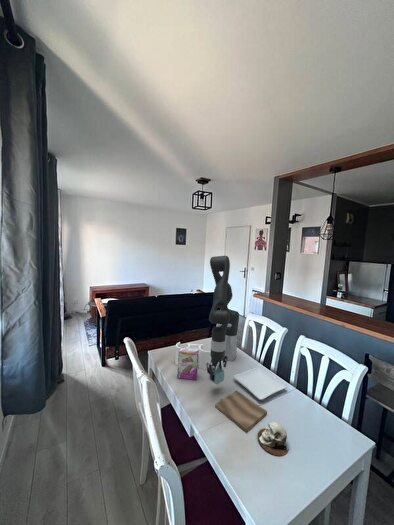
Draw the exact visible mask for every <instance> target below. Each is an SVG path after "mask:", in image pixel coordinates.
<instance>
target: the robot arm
mask: <svg viewBox="0 0 394 525" xmlns="http://www.w3.org/2000/svg"><path fill="white" fill-rule="evenodd" d="M209 265H210V269H211V273H212V275H213V279H214V282H215V287H214V290H213V300H212V302H213V303H212V307H211V310H210V312H209V316H208V320H209V322H210V323H211V324H212V325H213V324H214V325H219V326H215V327H213V328H212V331H211V341H210V351H211V353H210V355H211V358H212V359H211V362H210V363H207V364H206V365H207V371H206V372H207V374H208V375H209V374H210V379H211V380H212V381H214V379H215V371H216V370H217V367H219V368H221V369H222V370H224V369H225V368H226V367H227V363H228V362H233V361H235V360H236V358H237V351H238V350H237V349H238V344H237V342H238V341H237V340H238V331H239V330H238V329H239V321H240V313H239V311H237V310H232V309H229V307H228V306H229V304H230V302H231V301H232V299H233V290H232V289H233V288H232V286H231V285H230V283H229V277H230V269H231V262H230V257H229V256H228V255H218V256H211V257H210V259H209ZM221 273H222V275H221ZM218 308H220V309H218ZM229 325H231V326H229ZM213 366H214V367H215V368H214V367H213ZM212 370H213V371H212ZM211 380H210V381H211ZM212 381H211V382H212Z"/></svg>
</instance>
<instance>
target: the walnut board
mask: <svg viewBox="0 0 394 525" xmlns="http://www.w3.org/2000/svg"><path fill="white" fill-rule="evenodd" d="M214 405H215V406H214V407H215V409H216V410H218V411H219V412H220V413H222V414H223V415H224V416H225V417H226V418H228V419H229V420H230V421H231V422H233V423H234V424H235V426H237V427H238V428H240V429H241V430H242V431H243V432H245V433H248V432H249V431H250V430H251V429H252V428H254V427H255V426H256V425H257V424H258V423H259V422H260V421H261V420H262V419H263V418H265V416H267V414H268V410H266V409H265V408H263V407H261V406H260V405H259V404H257V403H255V401H253V400H251V399H250V398H248V397H247V396H245V395H244V394H242V393H241V392H240V391H238V390H237V389H236V390H235V391H234V392H232V393H231V394H229V395H227V396H226V397H224V398H223V399H221V400H219V401H218V402H216V403H215V404H214Z"/></svg>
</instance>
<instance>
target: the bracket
mask: <svg viewBox="0 0 394 525" xmlns="http://www.w3.org/2000/svg"><path fill="white" fill-rule="evenodd" d="M186 345H187V346H186V347H185V348H189V349H198V350H199V356H198V369H199V370H202V371H206V372H207V365H206V364H207V363H210V362H211V359H212V358H211V355H210V353H211V350H204V344H203V343H201V344H199V343H197V344H196V343H189V342H188V343H187V344H186ZM180 348H181V342H180V341H179V342H177V343H176V344H175V359H174V360H175V361H174V364H175V366H176V367H178V359H179V350H180ZM213 367H214V366H213Z"/></svg>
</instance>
